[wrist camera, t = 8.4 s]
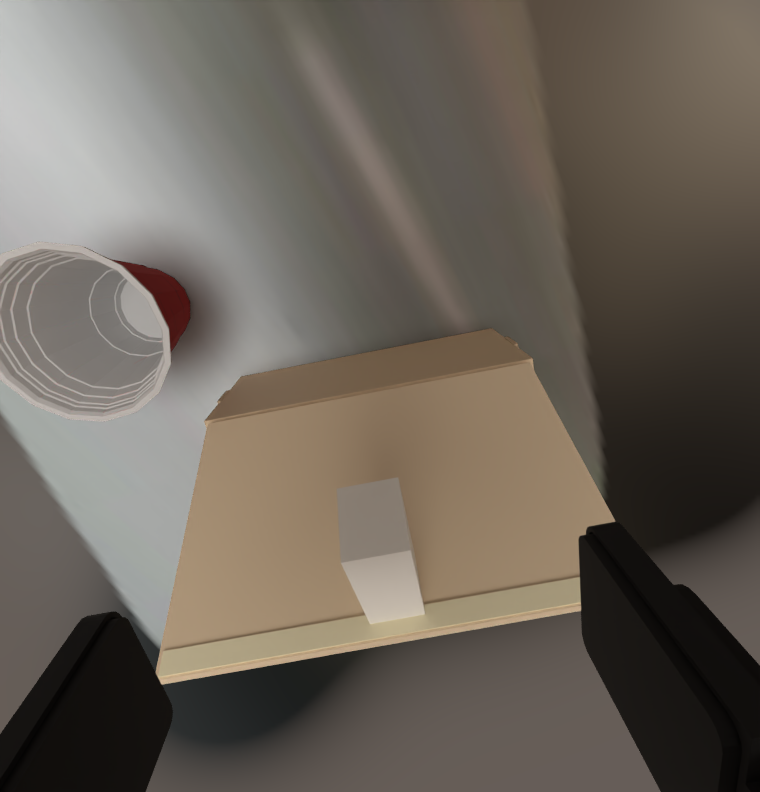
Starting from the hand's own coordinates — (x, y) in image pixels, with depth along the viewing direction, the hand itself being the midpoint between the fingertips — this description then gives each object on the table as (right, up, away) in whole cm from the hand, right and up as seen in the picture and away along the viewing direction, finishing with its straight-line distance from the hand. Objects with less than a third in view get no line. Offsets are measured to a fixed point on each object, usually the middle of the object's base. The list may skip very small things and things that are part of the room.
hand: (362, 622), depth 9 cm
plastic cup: (-18, +12, +28) cm, 36 cm away
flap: (0, -1, +15) cm, 15 cm away
